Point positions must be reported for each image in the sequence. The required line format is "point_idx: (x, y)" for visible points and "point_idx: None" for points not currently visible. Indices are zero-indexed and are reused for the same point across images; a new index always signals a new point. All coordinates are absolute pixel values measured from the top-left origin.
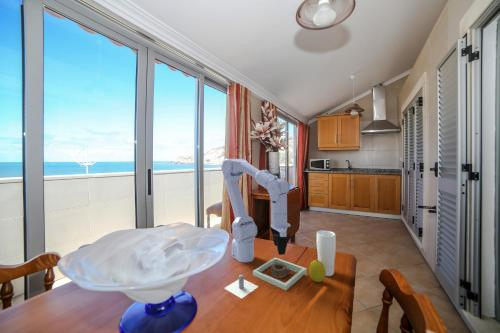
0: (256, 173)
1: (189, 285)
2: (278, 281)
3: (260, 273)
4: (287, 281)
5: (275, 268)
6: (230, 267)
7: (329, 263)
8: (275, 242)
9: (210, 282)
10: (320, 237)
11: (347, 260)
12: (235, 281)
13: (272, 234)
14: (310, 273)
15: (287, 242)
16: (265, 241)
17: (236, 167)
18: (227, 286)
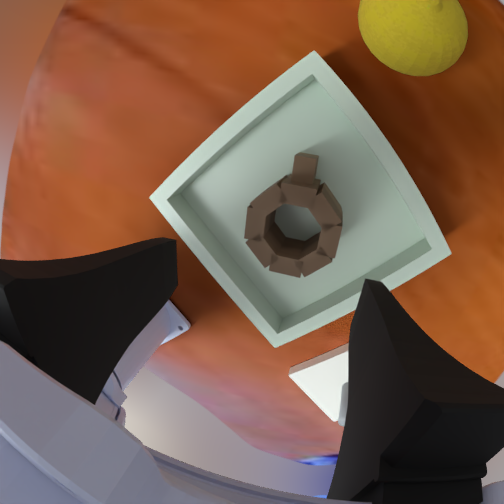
0: None
1: (276, 454)
2: (406, 273)
3: (307, 326)
4: (424, 230)
5: (307, 259)
6: (191, 368)
7: None
8: (160, 295)
9: (275, 427)
10: None
11: None
12: (307, 393)
13: (109, 358)
14: (425, 75)
15: (452, 361)
16: (13, 181)
17: None
18: (328, 414)
